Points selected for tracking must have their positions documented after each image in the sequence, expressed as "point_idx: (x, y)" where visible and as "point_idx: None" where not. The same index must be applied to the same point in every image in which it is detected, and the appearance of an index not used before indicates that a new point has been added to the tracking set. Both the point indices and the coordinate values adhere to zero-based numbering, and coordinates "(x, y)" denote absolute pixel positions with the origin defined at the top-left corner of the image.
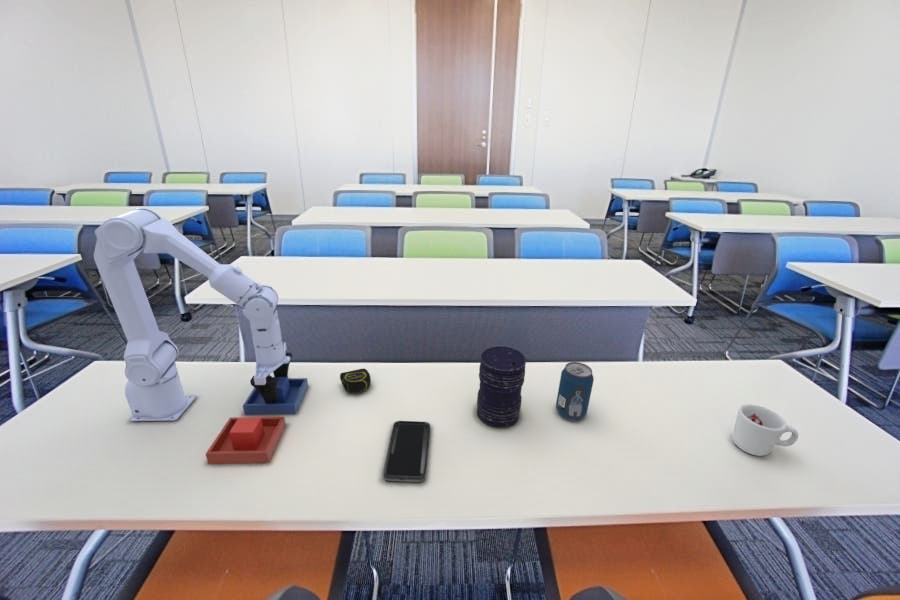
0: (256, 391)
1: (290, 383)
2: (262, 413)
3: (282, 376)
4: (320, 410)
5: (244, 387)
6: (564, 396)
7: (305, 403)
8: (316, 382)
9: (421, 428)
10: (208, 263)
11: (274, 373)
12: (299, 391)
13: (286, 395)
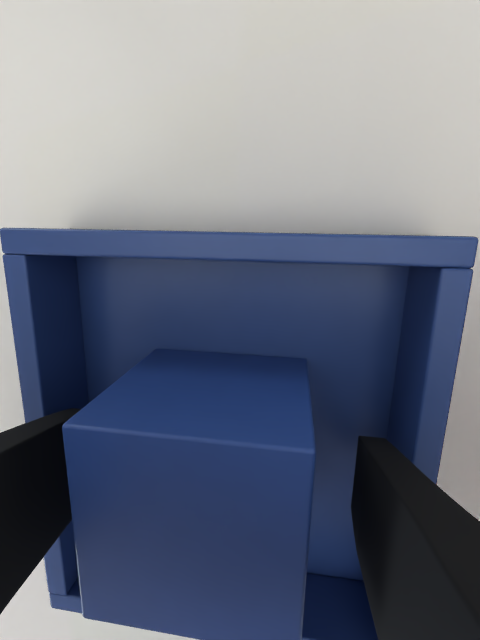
0: None
1: (67, 373)
2: None
3: (37, 478)
4: (408, 7)
5: (104, 624)
6: None
7: (287, 193)
8: (6, 175)
9: None
10: None
11: (16, 581)
12: (224, 249)
13: (241, 368)
